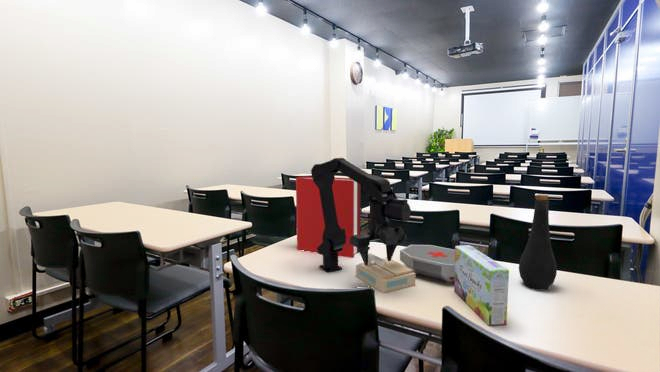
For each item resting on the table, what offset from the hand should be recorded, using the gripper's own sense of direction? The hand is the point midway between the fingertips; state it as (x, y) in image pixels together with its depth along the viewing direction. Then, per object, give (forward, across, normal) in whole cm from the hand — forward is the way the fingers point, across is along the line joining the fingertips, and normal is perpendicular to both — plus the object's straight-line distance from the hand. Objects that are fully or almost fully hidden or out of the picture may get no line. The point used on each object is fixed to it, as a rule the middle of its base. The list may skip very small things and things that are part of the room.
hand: (377, 263), depth 115 cm
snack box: (+7, +16, -27) cm, 32 cm away
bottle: (+7, +44, -26) cm, 52 cm away
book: (+7, +1, +39) cm, 40 cm away
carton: (+7, +4, +1) cm, 8 cm away
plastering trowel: (+3, +5, +1) cm, 5 cm away
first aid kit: (+7, +24, -3) cm, 25 cm away
